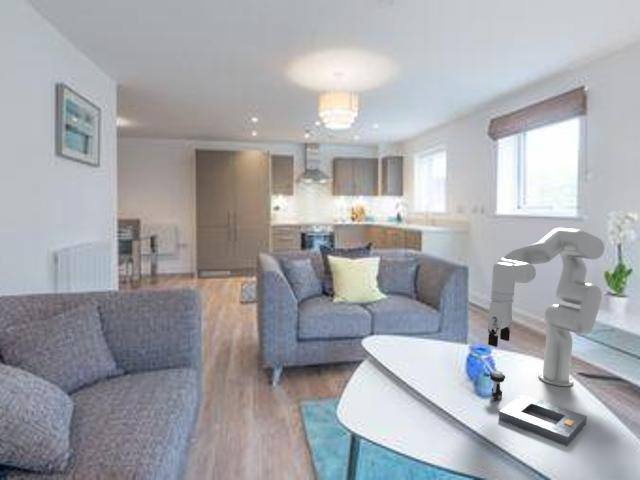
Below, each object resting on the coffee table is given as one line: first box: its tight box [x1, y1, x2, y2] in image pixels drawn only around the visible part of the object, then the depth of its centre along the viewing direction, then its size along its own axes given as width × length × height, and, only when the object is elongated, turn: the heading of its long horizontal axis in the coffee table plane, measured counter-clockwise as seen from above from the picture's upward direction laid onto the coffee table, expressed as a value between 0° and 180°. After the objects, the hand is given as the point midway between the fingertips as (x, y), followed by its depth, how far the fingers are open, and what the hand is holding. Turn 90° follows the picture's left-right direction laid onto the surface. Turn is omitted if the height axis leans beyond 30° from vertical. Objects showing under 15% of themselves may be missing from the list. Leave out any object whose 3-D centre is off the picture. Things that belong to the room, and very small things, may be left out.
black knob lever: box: [489, 370, 506, 402], centre depth 161 cm, size 7×5×10 cm
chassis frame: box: [498, 393, 588, 447], centre depth 146 cm, size 19×21×3 cm
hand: (498, 342), depth 159 cm, fingers open, 9 cm apart
